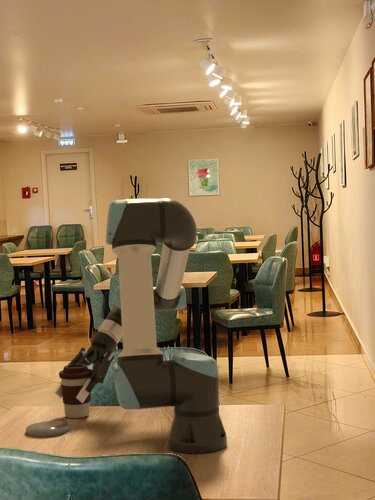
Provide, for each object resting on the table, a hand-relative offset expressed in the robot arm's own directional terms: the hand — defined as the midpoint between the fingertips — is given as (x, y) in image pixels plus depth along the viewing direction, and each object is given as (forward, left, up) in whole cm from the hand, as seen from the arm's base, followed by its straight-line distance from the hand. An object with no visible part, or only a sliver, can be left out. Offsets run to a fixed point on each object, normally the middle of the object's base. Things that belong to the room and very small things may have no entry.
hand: (68, 397), depth 217 cm
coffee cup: (+1, -3, -6) cm, 7 cm away
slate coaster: (-10, +9, -6) cm, 15 cm away
